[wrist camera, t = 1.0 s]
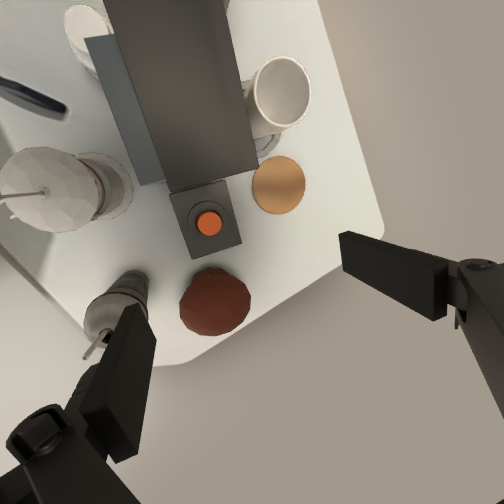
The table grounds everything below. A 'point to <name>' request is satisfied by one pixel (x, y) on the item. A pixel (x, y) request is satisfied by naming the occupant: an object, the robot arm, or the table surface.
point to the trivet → (278, 185)
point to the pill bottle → (84, 32)
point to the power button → (209, 223)
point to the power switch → (198, 202)
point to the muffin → (214, 303)
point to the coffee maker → (176, 91)
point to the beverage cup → (114, 308)
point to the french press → (63, 188)
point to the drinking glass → (277, 96)
